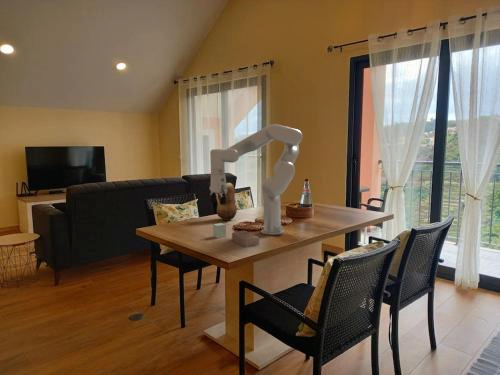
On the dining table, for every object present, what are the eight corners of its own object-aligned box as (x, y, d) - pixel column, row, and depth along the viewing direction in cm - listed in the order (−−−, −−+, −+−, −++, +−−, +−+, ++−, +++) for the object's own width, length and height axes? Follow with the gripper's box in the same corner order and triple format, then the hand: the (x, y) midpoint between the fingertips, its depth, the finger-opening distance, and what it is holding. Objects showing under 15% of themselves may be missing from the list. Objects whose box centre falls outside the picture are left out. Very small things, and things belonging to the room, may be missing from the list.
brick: (260, 245, 189) (260, 236, 188) (245, 247, 185) (245, 238, 184) (245, 238, 203) (245, 230, 203) (231, 240, 199) (231, 232, 199)
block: (225, 236, 206) (225, 224, 205) (218, 238, 203) (217, 225, 202) (221, 235, 210) (220, 223, 209) (213, 236, 207) (212, 224, 206)
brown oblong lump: (213, 219, 253) (212, 183, 250) (229, 217, 261) (228, 181, 258) (224, 223, 242) (223, 184, 239) (241, 220, 250) (240, 182, 247)
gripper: (232, 172, 198) (232, 204, 200) (215, 170, 212) (216, 200, 214) (220, 173, 194) (220, 206, 196) (203, 171, 207) (204, 202, 209)
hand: (218, 203), depth 205 cm, fingers open, 9 cm apart
